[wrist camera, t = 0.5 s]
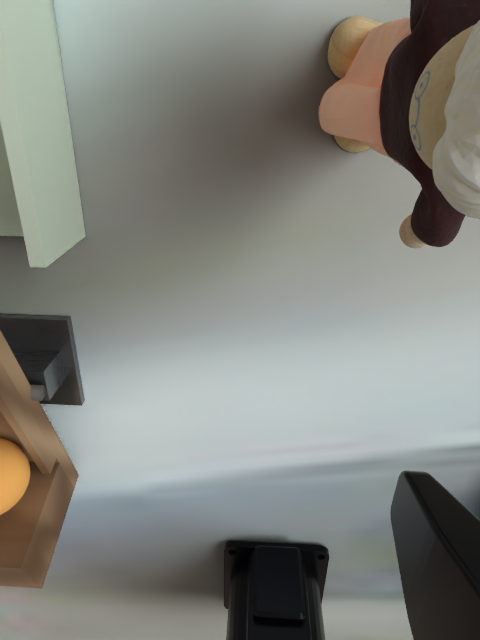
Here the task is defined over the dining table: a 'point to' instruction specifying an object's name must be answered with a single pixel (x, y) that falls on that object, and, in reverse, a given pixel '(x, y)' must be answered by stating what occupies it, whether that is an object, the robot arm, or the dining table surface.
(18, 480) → the ball
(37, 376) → the fulcrum
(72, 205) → the tray
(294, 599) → the robot arm
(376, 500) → the dining table surface
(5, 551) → the brown wooden ramp
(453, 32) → the grandmother figurine
